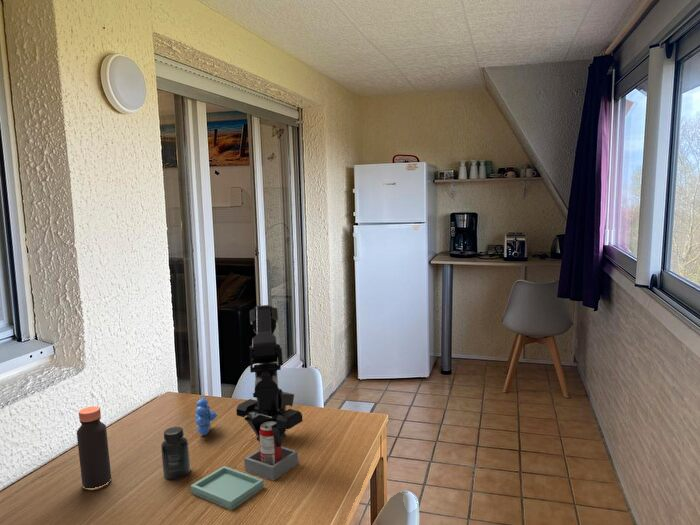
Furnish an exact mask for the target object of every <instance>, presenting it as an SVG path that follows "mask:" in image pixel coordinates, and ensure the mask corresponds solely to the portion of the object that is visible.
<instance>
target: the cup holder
mask: <svg viewBox="0 0 700 525" xmlns="http://www.w3.org/2000/svg"><path fill="white" fill-rule="evenodd" d="M281 449H282V460H280V461H279V462H277V463H276V464H274V465H273V466H272V465H269V464H266V463H263V462H261V453H260V448H259V449H258V450H256V451H254V452H252V453H250V454H249V455H248V456H247V455H246V457H244V458H243V459H244V471H245V472H247V473H250V474H252V475H255V476H258V477H261V478H265V479H267V480H271V481H273V482H274V481H275V480H277V479H278V478H280V477H282V476H283V475H284V474H286V473H287V472H289V471H290V470H292V468H294V467H296V466H297V465H299V452H298V451H297V450H294V449H292V448H288V447H286V446H285V447H284V446H282V445H281Z"/></svg>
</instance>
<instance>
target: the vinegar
mask: <svg viewBox="0 0 700 525" xmlns="http://www.w3.org/2000/svg"><path fill="white" fill-rule="evenodd" d="M78 417H79V423H80V426H79V427H78V429H77V431H76V440H77V448H78V457H79V467H80V476H81V484H82V485H83V486H84V487H85V488H95V487H99V486H102V485H104V484H106V483H107V482H109V481H110V479H111V480H112V471H111V462H110V452H109V441H108V432H107V431H108V430H107V426H106V424H105V423H103V422H102V421H101V419H102V418H101V417H102V413H101V408H100V406H96V405H95V406H87V407H84V408H82V409H80V410H79V411H78ZM82 485H81V486H82ZM83 486H82V487H83Z"/></svg>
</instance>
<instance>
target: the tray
mask: <svg viewBox="0 0 700 525" xmlns="http://www.w3.org/2000/svg"><path fill="white" fill-rule="evenodd" d="M264 482H265V481H264V479H262V478H259V477H256V476H254V475H251V474H248V473H245V472H242V471H240V470H237V469H234V468H231V467H229V466H225V465H223V466H221V467H220V468H218V469H216V470H214V471H213V472H212V473H209V474H208V475H206V476H205V477H202V478H201V479H199V480H197V481H196V482H194V483H192V484H191V485H190V493H191V494H192V495H195V496H197V497H199V498H201V499H204V500H207V501H208V502H211V503H214V504H216V505H218V506H221V507H223V508H226V509H228V510H234V509H235V508H236V507H238V506H239V505H241V504H242V503H243V502H246V501H247V500H248V499H250V498H251V497H253V496H254V495H255V494H256V493H258V492H260V491H261V490H262V489H264V488H265V484H264Z"/></svg>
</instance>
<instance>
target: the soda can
mask: <svg viewBox="0 0 700 525" xmlns="http://www.w3.org/2000/svg"><path fill="white" fill-rule="evenodd" d="M274 424H276V422H265V423H263V424H261V425H260V431H259V438H260V440H259V449H260V453H261V462H263V463H266V464H269V465H272V466H273V465H274V464H276V463H277V462H279V461H280V460H282V449H281V446H282V445H281V446H280V447H277V445H276V443H275V439H274V435H273V431H272V427H271V426H273V425H274Z"/></svg>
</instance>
